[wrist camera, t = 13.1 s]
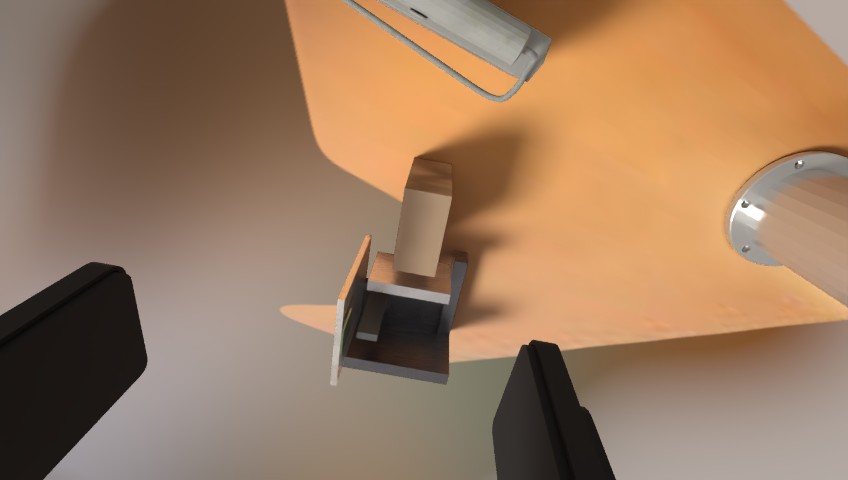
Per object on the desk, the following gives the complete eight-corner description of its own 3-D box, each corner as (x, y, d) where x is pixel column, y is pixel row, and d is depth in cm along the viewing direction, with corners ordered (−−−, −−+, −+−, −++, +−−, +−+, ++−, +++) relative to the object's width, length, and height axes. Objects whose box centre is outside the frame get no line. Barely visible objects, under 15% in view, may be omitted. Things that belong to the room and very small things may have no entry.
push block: (451, 164, 41) (452, 196, 32) (437, 231, 45) (434, 277, 36) (414, 157, 41) (404, 188, 32) (403, 224, 45) (391, 269, 36)
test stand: (466, 252, 46) (472, 323, 34) (446, 331, 51) (445, 415, 39) (366, 234, 45) (337, 299, 34) (356, 315, 51) (329, 395, 39)
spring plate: (450, 264, 44) (450, 294, 39) (445, 284, 45) (445, 316, 40) (377, 251, 44) (367, 280, 39) (375, 271, 45) (365, 301, 40)
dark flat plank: (391, 279, 46) (377, 335, 37) (390, 284, 46) (376, 341, 38) (375, 276, 46) (357, 331, 37) (374, 281, 46) (356, 337, 37)
